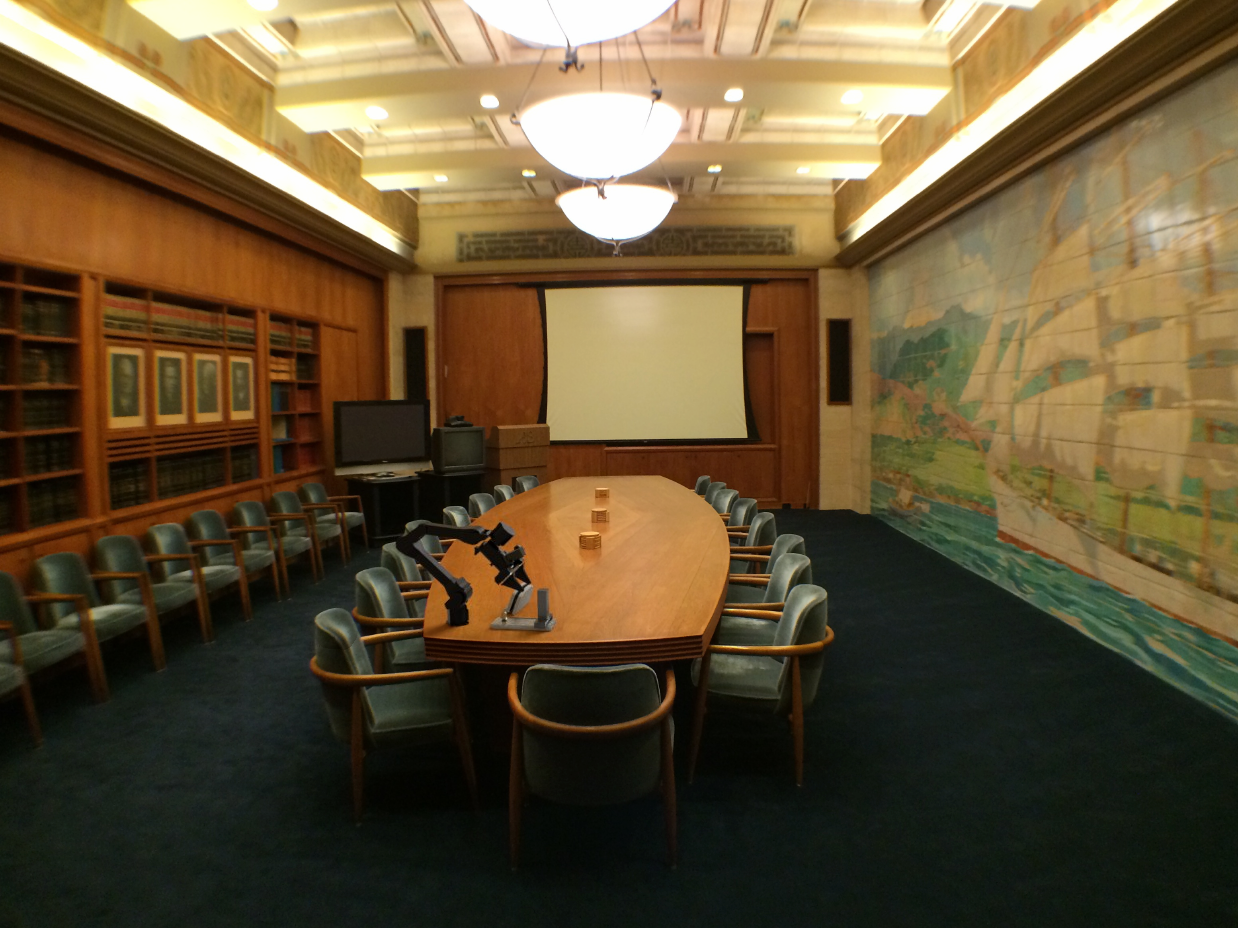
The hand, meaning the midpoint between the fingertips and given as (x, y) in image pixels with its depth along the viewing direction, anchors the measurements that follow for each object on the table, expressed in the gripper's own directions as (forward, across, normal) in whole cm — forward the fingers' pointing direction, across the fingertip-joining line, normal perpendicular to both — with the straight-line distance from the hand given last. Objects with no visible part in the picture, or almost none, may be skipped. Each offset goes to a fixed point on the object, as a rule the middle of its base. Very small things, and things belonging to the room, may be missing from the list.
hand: (527, 587), depth 238 cm
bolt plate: (+9, 0, +10) cm, 14 cm away
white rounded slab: (+4, +20, +16) cm, 25 cm away
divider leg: (+14, 0, +6) cm, 15 cm away
